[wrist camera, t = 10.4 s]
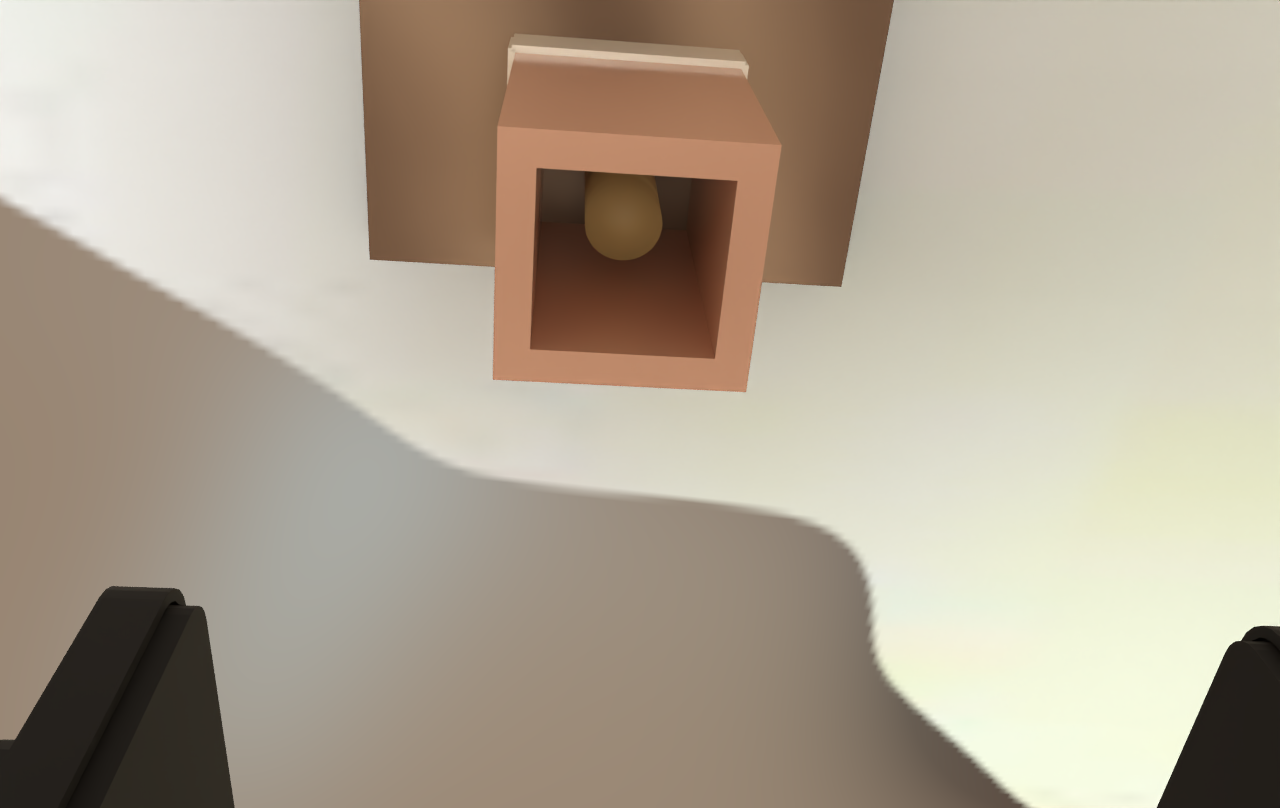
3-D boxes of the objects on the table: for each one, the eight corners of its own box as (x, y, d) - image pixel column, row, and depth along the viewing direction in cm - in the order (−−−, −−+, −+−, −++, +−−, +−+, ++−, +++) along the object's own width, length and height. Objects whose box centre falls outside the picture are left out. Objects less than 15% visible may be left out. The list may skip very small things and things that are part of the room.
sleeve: (742, 50, 26) (792, 136, 20) (716, 264, 28) (753, 399, 22) (510, 33, 25) (488, 116, 19) (506, 252, 28) (484, 386, 22)
